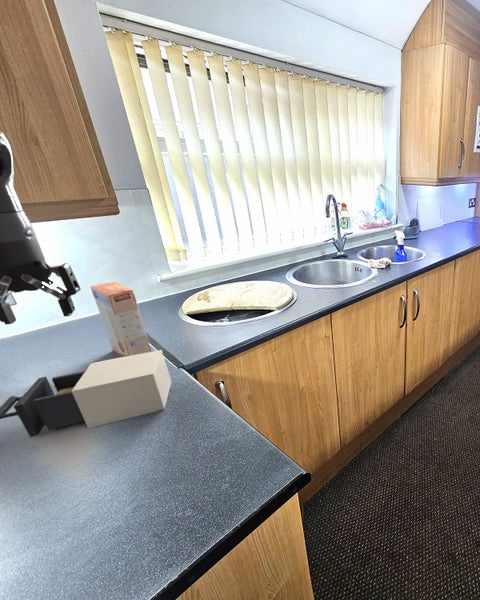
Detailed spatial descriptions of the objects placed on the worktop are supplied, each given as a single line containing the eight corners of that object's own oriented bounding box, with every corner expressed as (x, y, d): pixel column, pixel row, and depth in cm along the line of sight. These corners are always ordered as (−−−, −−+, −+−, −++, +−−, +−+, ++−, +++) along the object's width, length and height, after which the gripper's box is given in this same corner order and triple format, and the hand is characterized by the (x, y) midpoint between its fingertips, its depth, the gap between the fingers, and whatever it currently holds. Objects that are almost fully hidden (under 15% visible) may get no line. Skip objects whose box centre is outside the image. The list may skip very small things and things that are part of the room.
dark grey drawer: (-5, 446, 63) (-24, 414, 61) (23, 413, 72) (7, 383, 69) (108, 418, 71) (96, 388, 68) (121, 391, 79) (110, 363, 76)
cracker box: (154, 355, 96) (133, 289, 89) (130, 365, 92) (106, 295, 84) (135, 342, 104) (114, 280, 96) (112, 350, 99) (88, 285, 91)
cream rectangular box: (88, 428, 69) (71, 391, 66) (104, 397, 79) (91, 362, 75) (164, 409, 75) (153, 373, 71) (171, 382, 84) (161, 349, 81)
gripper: (66, 231, 65) (93, 306, 71) (-38, 237, 59) (1, 318, 65) (48, 238, 59) (79, 319, 65) (-69, 244, 53) (-23, 333, 59)
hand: (40, 318), depth 65 cm, fingers open, 8 cm apart
